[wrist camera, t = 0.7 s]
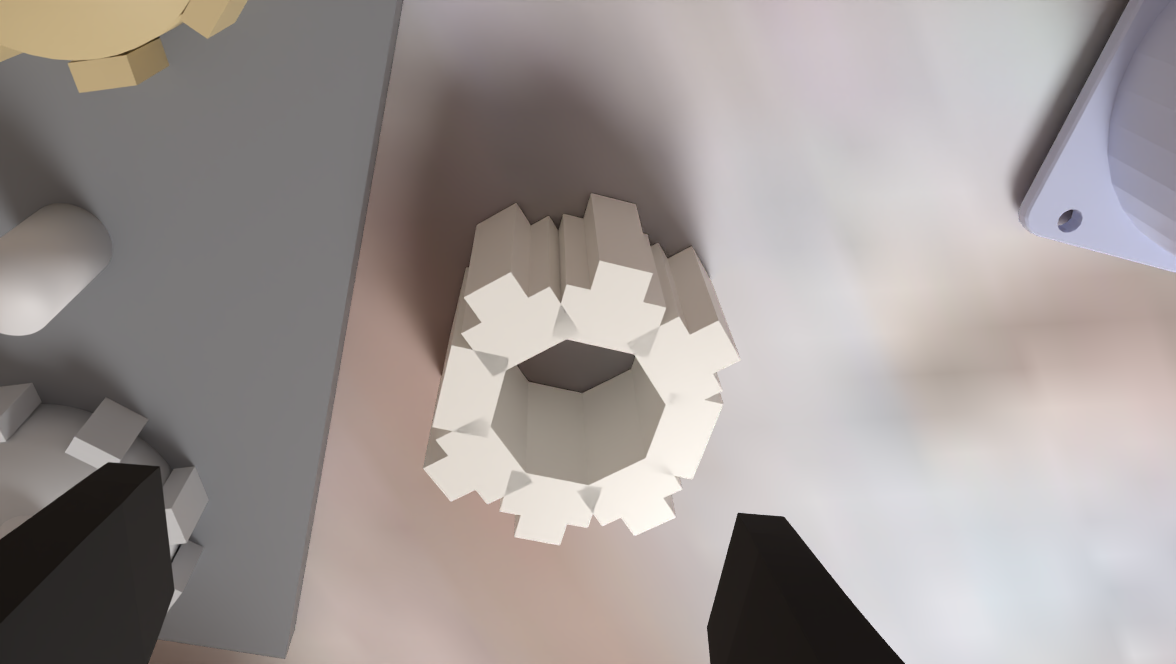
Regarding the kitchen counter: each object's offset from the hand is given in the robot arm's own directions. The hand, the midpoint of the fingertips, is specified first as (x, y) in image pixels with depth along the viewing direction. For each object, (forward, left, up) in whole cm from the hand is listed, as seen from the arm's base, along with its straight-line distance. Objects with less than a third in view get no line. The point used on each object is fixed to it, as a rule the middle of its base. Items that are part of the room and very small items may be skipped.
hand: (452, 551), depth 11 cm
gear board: (+8, +1, -9) cm, 13 cm away
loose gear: (-2, +1, -9) cm, 10 cm away
